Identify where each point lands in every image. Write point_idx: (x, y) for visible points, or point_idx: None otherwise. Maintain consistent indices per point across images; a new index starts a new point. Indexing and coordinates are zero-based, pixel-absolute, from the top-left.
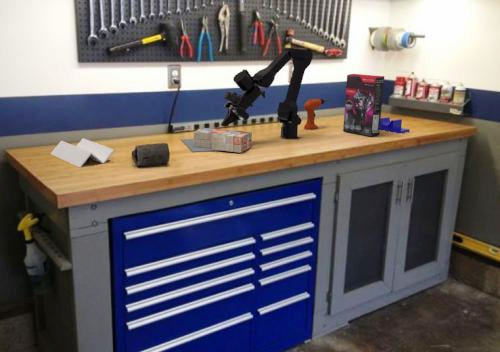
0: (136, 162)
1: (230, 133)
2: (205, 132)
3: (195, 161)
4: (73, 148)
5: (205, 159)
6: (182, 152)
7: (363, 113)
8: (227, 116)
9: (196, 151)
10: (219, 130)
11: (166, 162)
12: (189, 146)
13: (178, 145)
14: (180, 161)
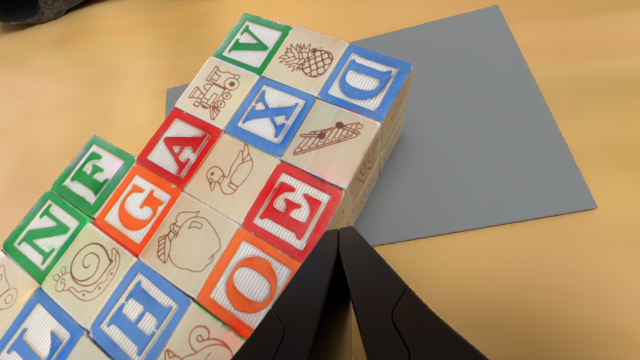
0: None
1: (64, 307)
2: (184, 91)
3: (17, 110)
4: None
5: (28, 148)
6: (179, 51)
7: None
8: (272, 342)
9: (166, 105)
10: (265, 212)
11: (2, 18)
12: None
13: (335, 17)
14: (40, 60)
